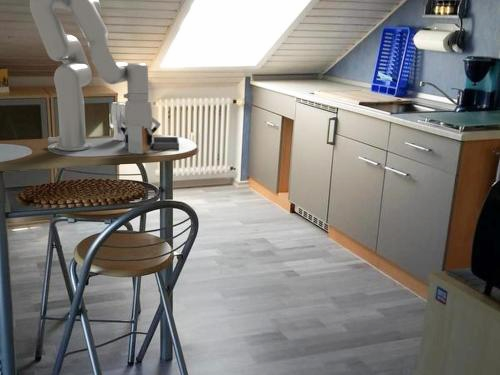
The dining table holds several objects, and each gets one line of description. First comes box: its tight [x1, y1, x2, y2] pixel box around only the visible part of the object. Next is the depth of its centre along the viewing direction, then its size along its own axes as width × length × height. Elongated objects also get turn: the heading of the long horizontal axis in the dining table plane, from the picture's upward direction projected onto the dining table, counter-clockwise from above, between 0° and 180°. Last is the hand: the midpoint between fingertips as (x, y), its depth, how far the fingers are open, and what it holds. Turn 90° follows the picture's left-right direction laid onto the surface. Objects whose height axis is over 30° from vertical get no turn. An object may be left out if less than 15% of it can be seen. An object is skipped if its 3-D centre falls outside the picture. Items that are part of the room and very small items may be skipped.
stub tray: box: [152, 136, 180, 151], centre depth 237 cm, size 10×12×2 cm
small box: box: [128, 125, 150, 155], centre depth 225 cm, size 8×6×10 cm
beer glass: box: [110, 101, 126, 142], centre depth 245 cm, size 7×7×15 cm
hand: (139, 144), depth 226 cm, fingers closed on small box, 7 cm apart
